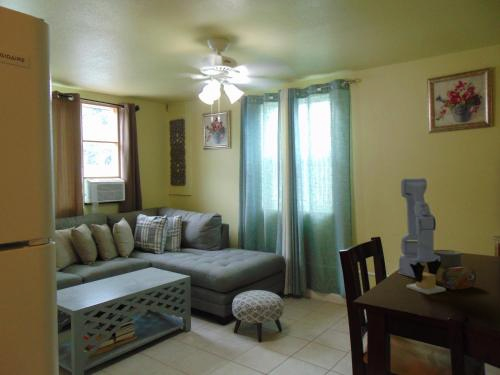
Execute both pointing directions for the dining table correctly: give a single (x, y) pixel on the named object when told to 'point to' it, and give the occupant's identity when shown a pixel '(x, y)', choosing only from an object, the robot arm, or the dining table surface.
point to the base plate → (426, 291)
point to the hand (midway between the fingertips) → (425, 280)
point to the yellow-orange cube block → (427, 281)
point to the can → (449, 258)
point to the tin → (458, 277)
